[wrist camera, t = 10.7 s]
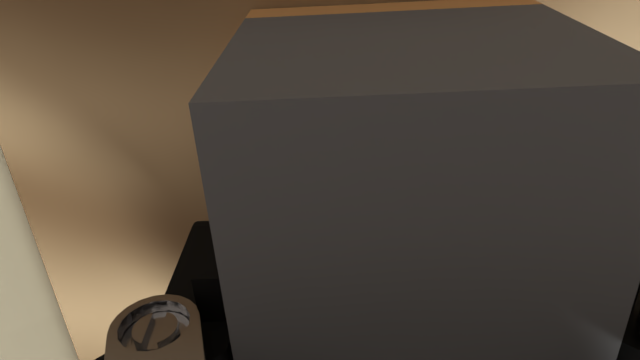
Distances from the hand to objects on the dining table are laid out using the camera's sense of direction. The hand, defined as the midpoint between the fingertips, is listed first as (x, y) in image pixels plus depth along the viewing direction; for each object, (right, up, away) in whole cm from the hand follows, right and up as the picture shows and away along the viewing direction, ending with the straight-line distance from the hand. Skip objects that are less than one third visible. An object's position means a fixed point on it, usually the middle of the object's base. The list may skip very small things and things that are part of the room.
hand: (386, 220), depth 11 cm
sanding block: (0, 0, 0) cm, 0 cm away
